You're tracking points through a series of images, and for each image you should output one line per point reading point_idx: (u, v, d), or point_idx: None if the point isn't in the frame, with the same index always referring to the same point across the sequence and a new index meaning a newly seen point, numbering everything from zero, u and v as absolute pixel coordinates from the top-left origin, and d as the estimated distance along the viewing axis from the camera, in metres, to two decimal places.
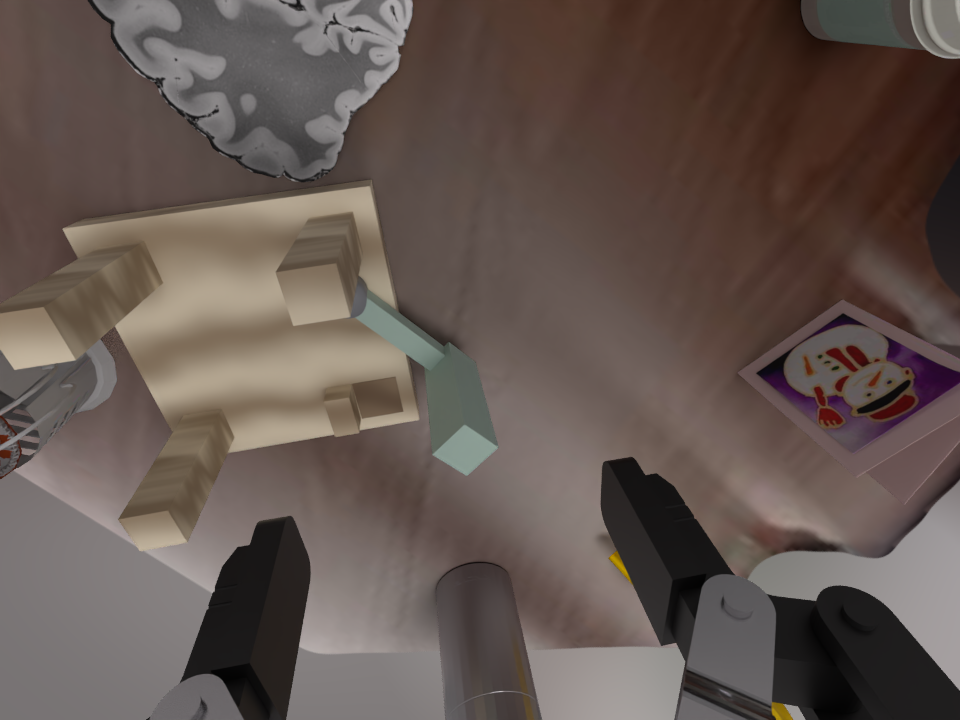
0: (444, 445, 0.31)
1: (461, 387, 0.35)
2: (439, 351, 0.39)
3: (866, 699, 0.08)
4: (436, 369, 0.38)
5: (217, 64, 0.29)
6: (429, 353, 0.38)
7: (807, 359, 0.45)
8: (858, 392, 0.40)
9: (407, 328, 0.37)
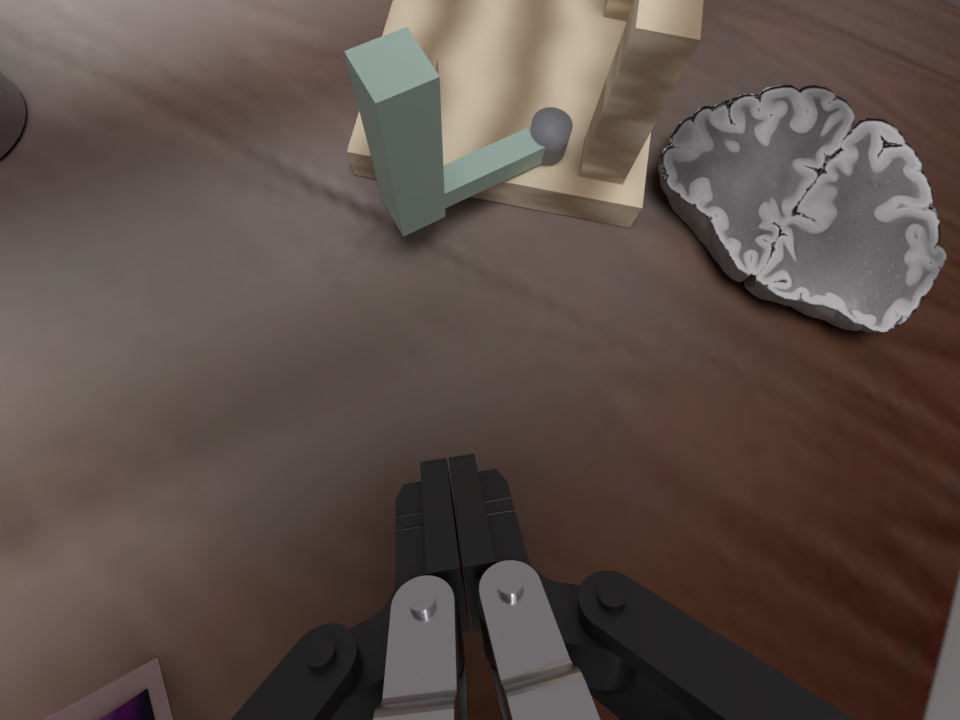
0: (415, 44, 0.21)
1: (435, 153, 0.25)
2: (448, 193, 0.30)
3: (648, 674, 0.08)
4: None
5: (763, 139, 0.35)
6: (451, 180, 0.31)
7: None
8: None
9: (493, 170, 0.31)
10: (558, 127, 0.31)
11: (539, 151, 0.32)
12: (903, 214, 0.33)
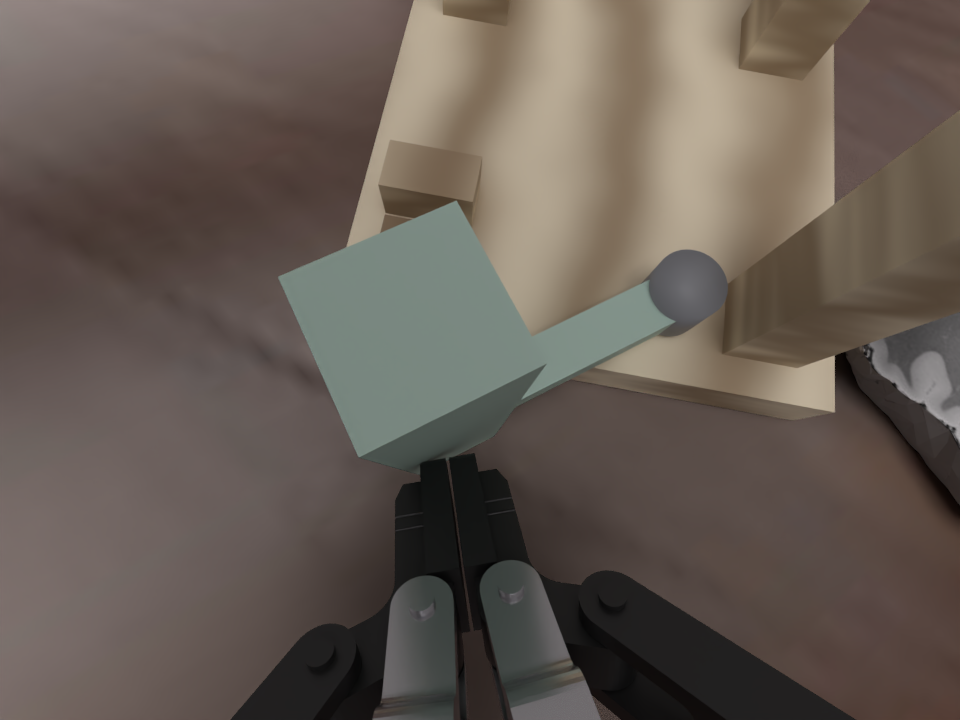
0: (480, 256, 0.08)
1: (496, 418, 0.12)
2: None
3: (649, 674, 0.08)
4: None
5: None
6: None
7: None
8: None
9: (584, 366, 0.17)
10: (702, 289, 0.17)
11: (664, 327, 0.18)
12: None
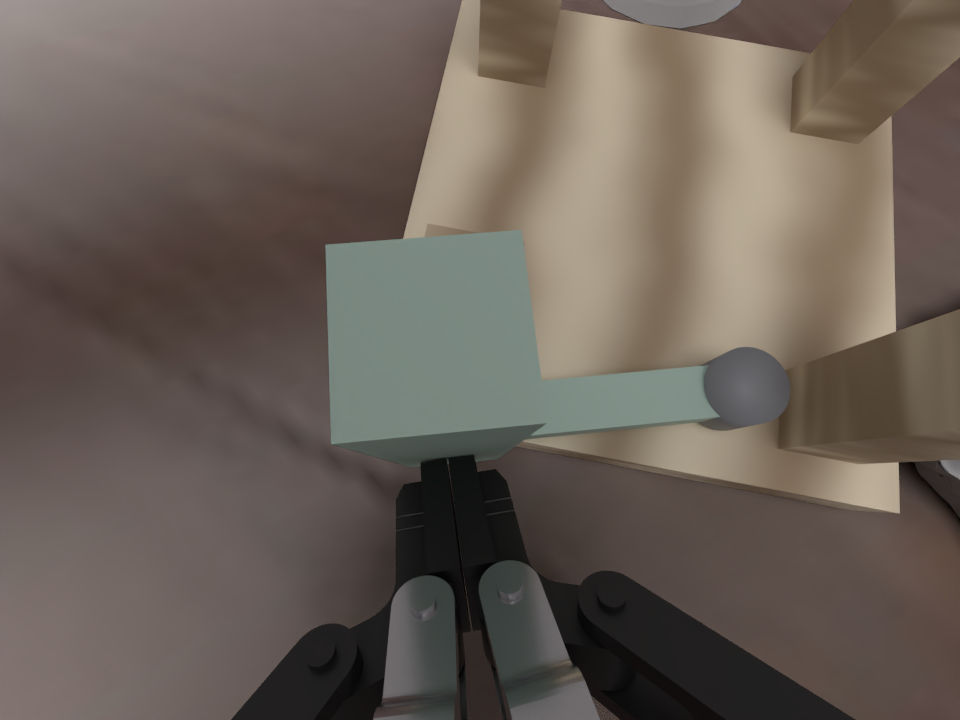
0: (522, 293, 0.07)
1: (496, 448, 0.11)
2: None
3: (648, 674, 0.08)
4: None
5: None
6: None
7: None
8: None
9: (609, 426, 0.17)
10: (760, 395, 0.16)
11: (706, 418, 0.17)
12: None
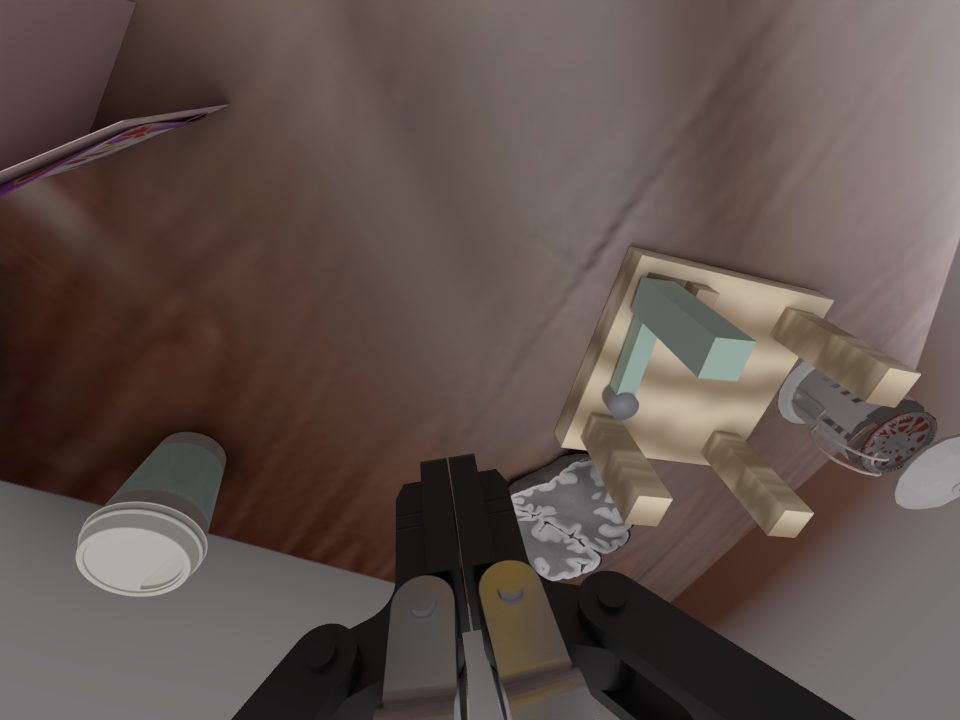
0: (724, 378, 0.33)
1: (666, 339, 0.36)
2: (641, 323, 0.41)
3: (648, 674, 0.08)
4: None
5: (598, 511, 0.54)
6: (646, 331, 0.42)
7: (138, 138, 0.30)
8: (87, 151, 0.25)
9: (630, 358, 0.43)
10: (620, 409, 0.45)
11: (617, 390, 0.44)
12: (537, 569, 0.58)
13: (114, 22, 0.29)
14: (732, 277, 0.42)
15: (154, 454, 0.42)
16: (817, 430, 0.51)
